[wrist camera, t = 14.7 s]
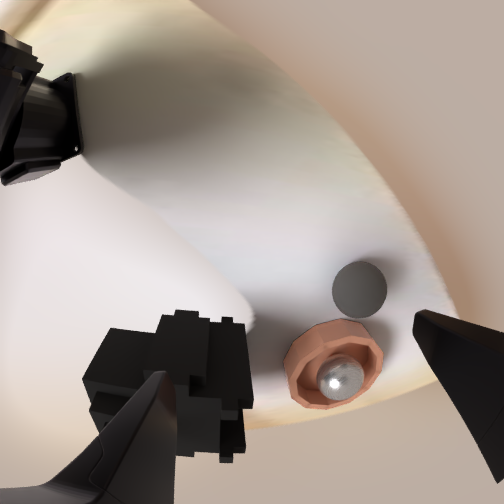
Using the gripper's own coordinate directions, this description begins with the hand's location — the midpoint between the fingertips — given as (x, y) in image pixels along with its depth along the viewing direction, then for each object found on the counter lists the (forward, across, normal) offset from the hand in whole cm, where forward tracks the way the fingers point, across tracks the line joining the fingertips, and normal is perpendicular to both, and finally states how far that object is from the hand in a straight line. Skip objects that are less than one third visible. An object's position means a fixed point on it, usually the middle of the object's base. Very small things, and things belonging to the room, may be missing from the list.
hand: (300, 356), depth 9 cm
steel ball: (+8, -5, +11) cm, 15 cm away
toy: (+4, +3, +8) cm, 9 cm away
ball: (+9, -6, +4) cm, 12 cm away
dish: (+11, -5, +11) cm, 17 cm away
